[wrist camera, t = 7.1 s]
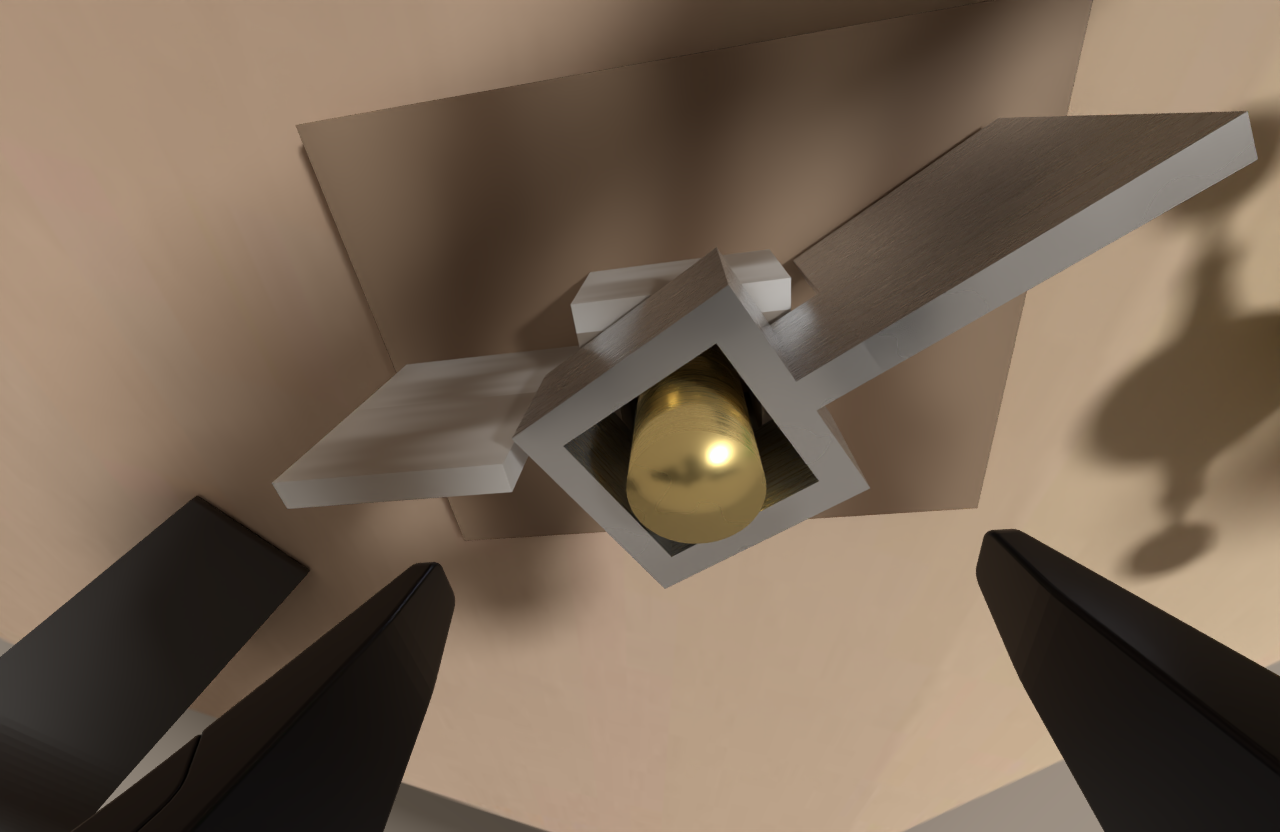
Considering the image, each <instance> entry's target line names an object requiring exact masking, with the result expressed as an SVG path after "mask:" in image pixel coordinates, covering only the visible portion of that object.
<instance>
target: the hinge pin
mask: <svg viewBox="0 0 1280 832" xmlns="http://www.w3.org/2000/svg"><path fill="white" fill-rule="evenodd" d="M626 492H627V498H628V502H629V505H630V507H631V509H632V511H633V513H634V514H635V516H636V517H637V518H638V520H639V521H640V522H641V523H642V524H643V525H644V526H645V527H647V528H648V529H649V530H651V531H652V532H654V533H656V534H657V535H659V536H661V537H664V538H666V539H669V540H673V541H676V542H681V543H690V544H702V543H711V542H715V541H719V540H722V539H725V538H728V537H730V536H732V535H734V534H736V533H738V532H740V531H741V530H743V529H744V528H745V527H747V526H748V525H749V524H750V523H751V522H752V521H753V520H754V519H755V517H756V516H757V515H758V513H759V511H760V510H761V508H762V506H763V503H764V500H765V496H766V478H765V474H764V471H763V467H762V463H761V459H760V455H759V451H758V447H757V444H756V440H755V436H754V432H753V428H752V424H751V421H750V417H749V413H748V409H747V405H746V401H745V397H744V394H743V390H742V386H741V382H740V378H739V374H738V372H737V370H736V369H735V368H734V366H733V365H732V364H731V362H730V361H729V360H728V358H727V357H726V356H725V354H724V353H723V352H722V350H721V349H720V347H719V346H718V345H717V343H716V344H714V345H713V346H711V347H710V348H708V349H707V350H705V351H704V352H702V353H701V354H700V355H698V356H697V357H695V358H694V359H692V360H691V361H689V362H688V363H686V364H685V365H683V366H682V367H680V368H679V369H677V370H676V371H674V372H673V373H671V374H670V375H668V376H667V377H665V378H664V379H662V380H661V381H659V382H658V383H656V384H655V385H653V386H652V387H650V388H649V389H647V390H646V391H644V392H643V393H641V394H640V395H639V396H638V403H637V410H636V418H635V425H634V432H633V439H632V447H631V454H630V461H629V469H628V476H627V485H626Z"/></svg>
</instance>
